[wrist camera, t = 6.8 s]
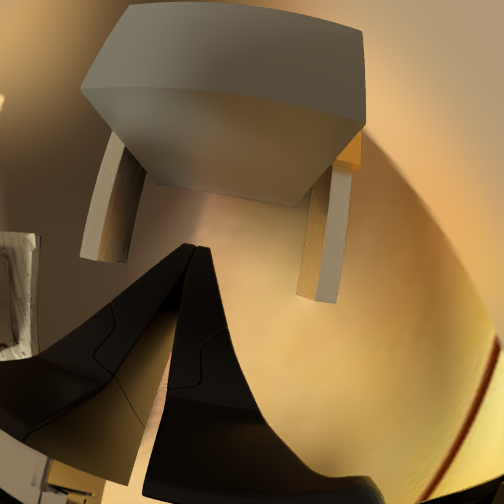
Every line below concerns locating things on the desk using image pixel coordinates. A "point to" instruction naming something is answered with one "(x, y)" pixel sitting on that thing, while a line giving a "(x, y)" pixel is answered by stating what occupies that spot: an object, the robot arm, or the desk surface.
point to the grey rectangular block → (231, 95)
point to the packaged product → (19, 295)
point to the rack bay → (317, 234)
